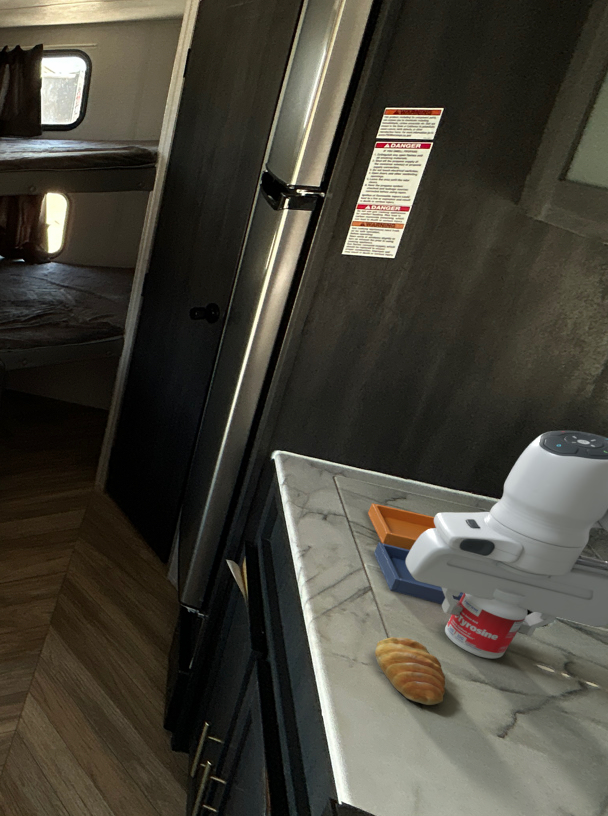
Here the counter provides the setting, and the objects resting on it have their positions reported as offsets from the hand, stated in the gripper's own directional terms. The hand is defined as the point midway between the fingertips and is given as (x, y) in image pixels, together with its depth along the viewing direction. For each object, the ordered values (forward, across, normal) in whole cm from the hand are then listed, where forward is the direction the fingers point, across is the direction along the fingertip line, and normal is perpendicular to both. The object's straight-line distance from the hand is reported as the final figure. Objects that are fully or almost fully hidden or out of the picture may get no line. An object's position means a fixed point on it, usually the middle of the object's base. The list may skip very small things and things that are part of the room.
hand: (483, 621), depth 90 cm
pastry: (+4, +10, +12) cm, 16 cm away
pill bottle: (+4, 0, 0) cm, 4 cm away
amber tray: (+4, 0, -27) cm, 27 cm away
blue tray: (+4, +2, -13) cm, 14 cm away
